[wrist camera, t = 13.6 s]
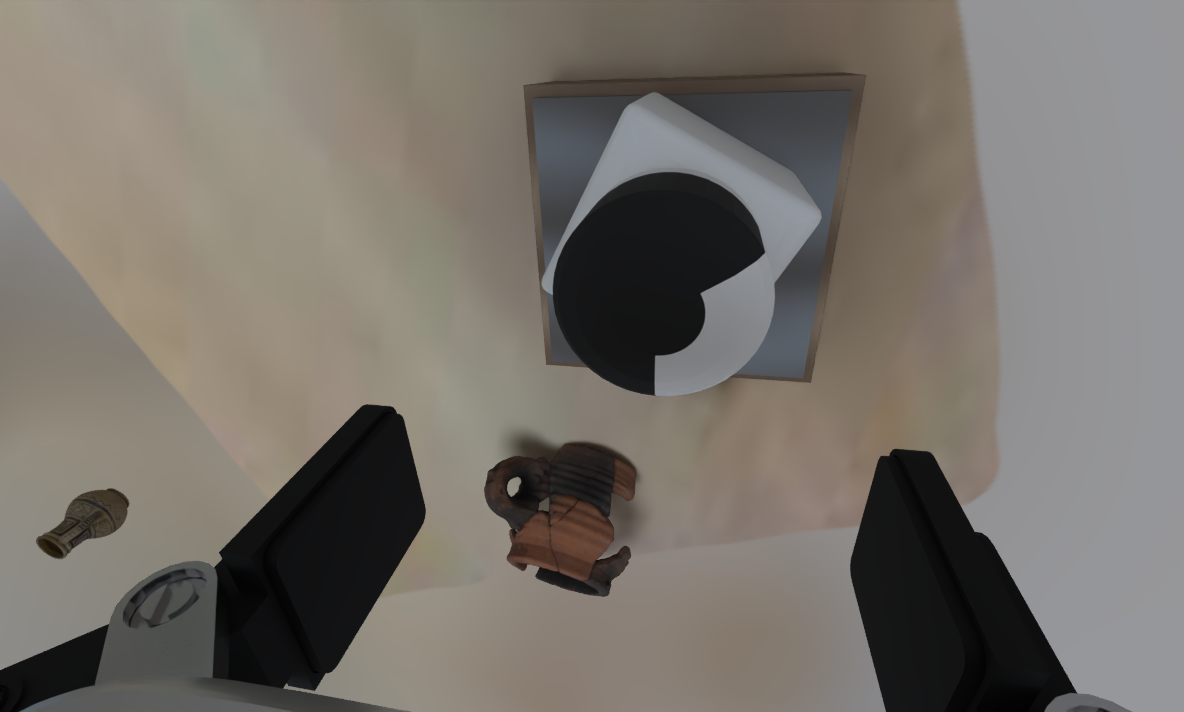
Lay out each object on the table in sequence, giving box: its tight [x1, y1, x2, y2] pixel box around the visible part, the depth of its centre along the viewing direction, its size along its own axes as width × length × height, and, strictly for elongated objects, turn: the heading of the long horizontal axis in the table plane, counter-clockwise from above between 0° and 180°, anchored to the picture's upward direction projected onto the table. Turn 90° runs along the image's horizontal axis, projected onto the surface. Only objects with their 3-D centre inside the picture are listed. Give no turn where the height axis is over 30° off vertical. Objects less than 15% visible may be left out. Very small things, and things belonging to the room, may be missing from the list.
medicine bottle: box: [542, 92, 822, 396], centre depth 20 cm, size 7×7×12 cm
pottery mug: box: [484, 445, 636, 597], centre depth 38 cm, size 12×9×8 cm
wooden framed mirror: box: [524, 73, 866, 383], centre depth 28 cm, size 14×14×5 cm
